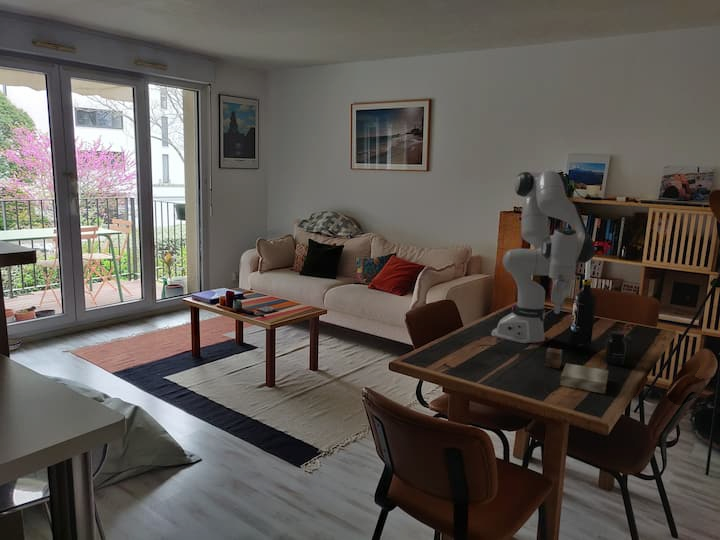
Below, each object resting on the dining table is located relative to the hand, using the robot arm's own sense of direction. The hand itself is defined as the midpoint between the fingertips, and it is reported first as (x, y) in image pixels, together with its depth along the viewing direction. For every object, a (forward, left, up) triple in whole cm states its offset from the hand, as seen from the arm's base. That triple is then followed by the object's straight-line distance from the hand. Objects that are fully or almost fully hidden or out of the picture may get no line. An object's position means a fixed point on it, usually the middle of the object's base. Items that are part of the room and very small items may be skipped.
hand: (558, 310), depth 200 cm
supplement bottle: (+20, +16, -22) cm, 33 cm away
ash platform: (+12, -12, -22) cm, 27 cm away
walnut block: (0, 0, -21) cm, 21 cm away
